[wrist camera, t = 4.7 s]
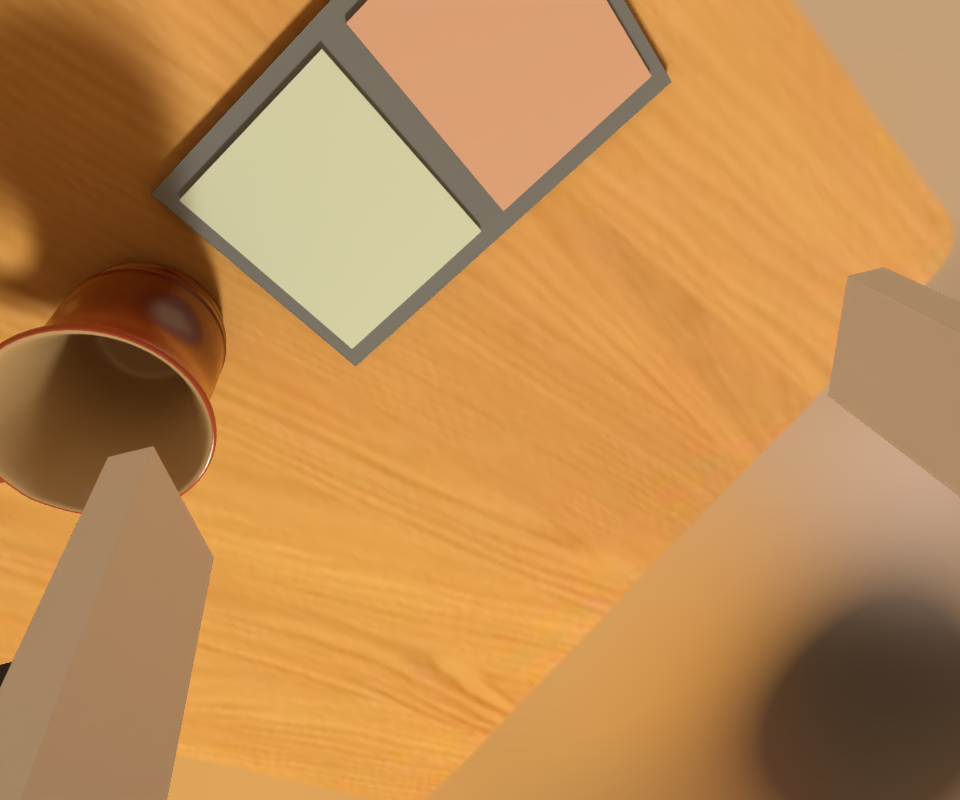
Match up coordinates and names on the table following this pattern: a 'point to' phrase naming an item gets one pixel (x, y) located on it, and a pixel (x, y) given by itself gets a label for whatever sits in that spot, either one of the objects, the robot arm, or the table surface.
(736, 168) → the table surface
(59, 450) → the mug
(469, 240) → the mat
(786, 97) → the table surface
